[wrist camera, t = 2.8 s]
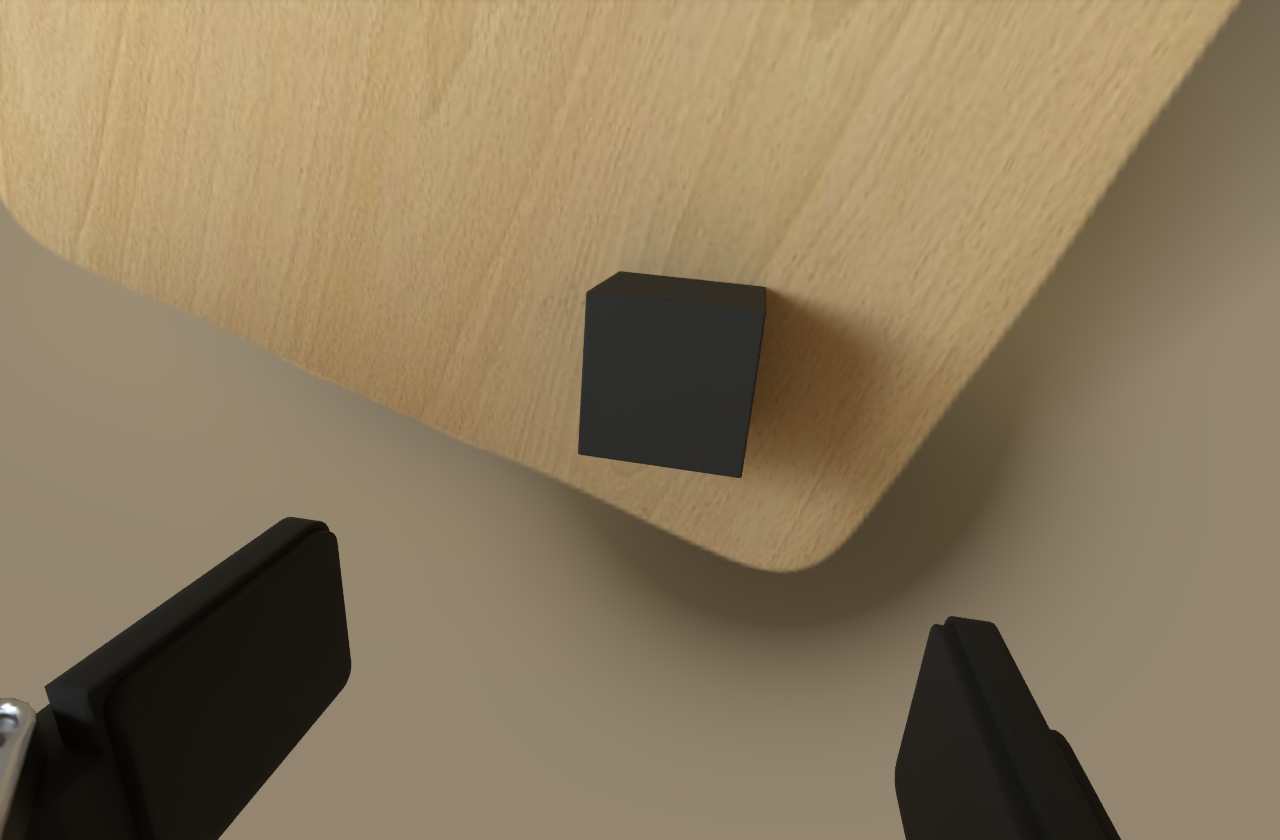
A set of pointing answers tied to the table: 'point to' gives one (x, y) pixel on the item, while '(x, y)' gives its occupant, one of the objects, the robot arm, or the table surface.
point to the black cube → (670, 371)
